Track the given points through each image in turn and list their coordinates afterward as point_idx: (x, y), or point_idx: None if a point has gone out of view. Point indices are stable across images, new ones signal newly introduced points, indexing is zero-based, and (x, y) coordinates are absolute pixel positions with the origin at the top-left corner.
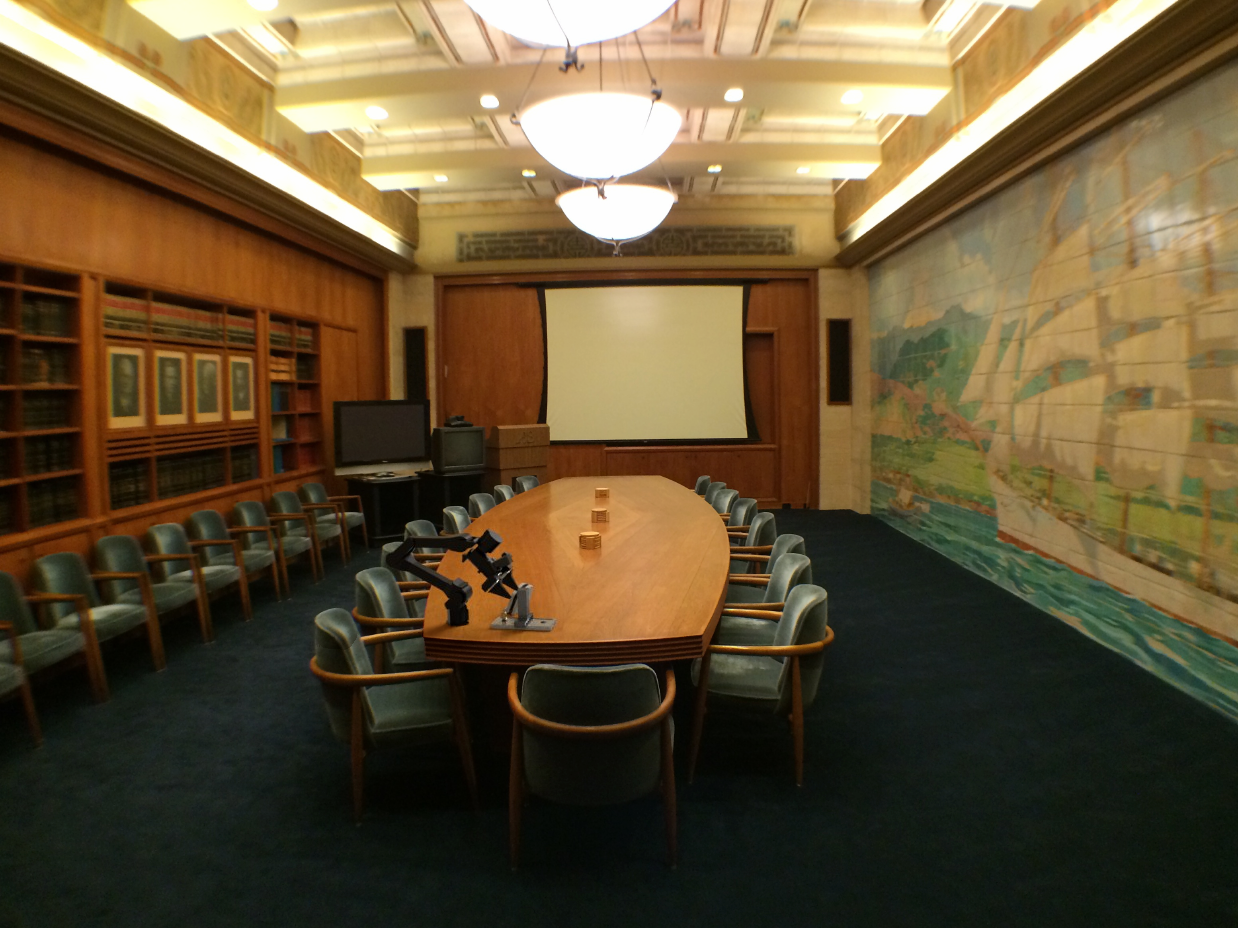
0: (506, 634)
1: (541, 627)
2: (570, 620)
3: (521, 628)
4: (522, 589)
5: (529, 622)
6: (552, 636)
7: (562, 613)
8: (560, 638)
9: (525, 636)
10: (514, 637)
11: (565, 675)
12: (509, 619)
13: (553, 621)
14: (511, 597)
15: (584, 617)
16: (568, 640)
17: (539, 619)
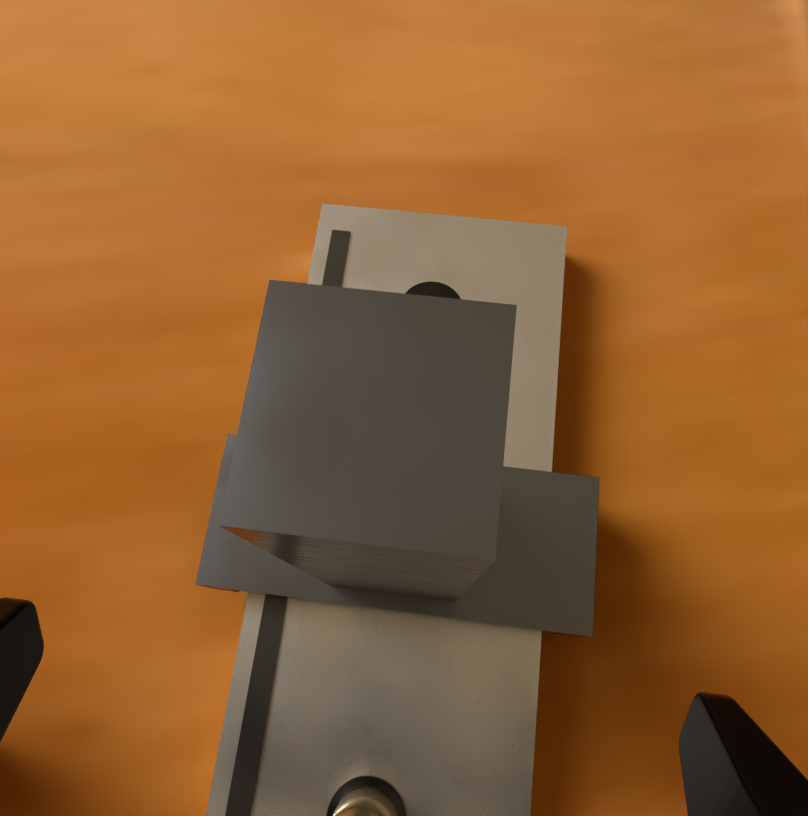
0: None
1: (559, 324)
2: (264, 120)
3: None
4: (418, 418)
5: None
6: (712, 220)
7: (43, 206)
8: (754, 151)
9: (748, 474)
10: (798, 592)
11: None
12: (317, 750)
13: (407, 220)
14: (707, 694)
15: (192, 24)
16: (793, 87)
17: None
